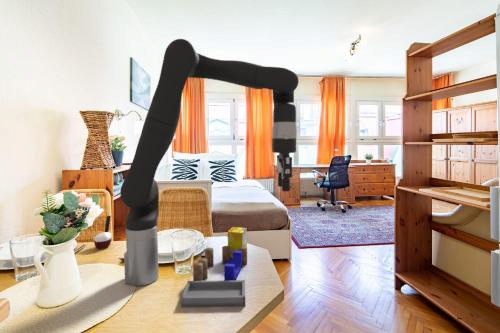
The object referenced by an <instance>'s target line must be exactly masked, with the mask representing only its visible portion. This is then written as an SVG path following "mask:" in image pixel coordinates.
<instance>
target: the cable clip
mask: <svg viewBox="0 0 500 333" xmlns="http://www.w3.org/2000/svg"><path fill="white" fill-rule="evenodd" d="M223 267H224V269H223V271H224V272H223V274H224V278H223V281H227V280H237V279H238V276H239V275H240V273H241V272H242V268H243V266H242V251H233V259H229V261H228V263H227V264H225V265H223Z"/></svg>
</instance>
